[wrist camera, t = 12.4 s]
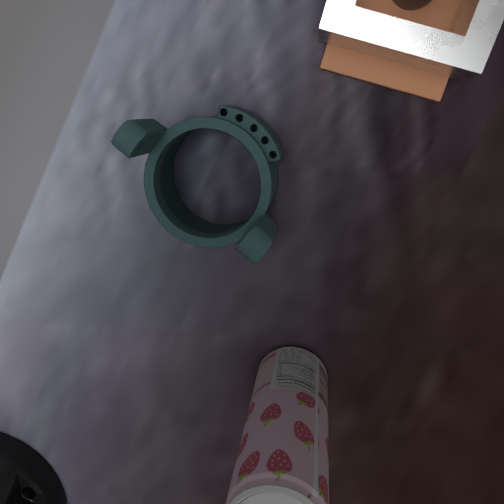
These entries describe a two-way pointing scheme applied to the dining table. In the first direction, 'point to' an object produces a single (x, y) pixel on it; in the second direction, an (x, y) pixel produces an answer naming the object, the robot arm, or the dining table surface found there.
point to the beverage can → (285, 433)
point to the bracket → (164, 192)
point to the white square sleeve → (417, 36)
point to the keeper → (387, 72)
